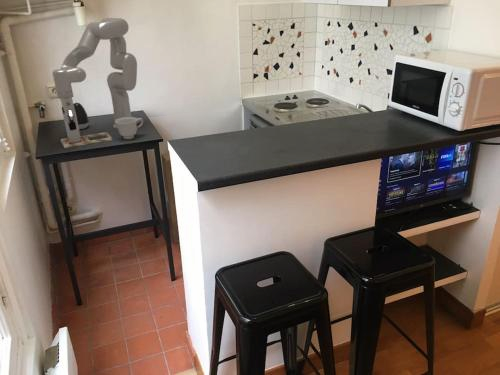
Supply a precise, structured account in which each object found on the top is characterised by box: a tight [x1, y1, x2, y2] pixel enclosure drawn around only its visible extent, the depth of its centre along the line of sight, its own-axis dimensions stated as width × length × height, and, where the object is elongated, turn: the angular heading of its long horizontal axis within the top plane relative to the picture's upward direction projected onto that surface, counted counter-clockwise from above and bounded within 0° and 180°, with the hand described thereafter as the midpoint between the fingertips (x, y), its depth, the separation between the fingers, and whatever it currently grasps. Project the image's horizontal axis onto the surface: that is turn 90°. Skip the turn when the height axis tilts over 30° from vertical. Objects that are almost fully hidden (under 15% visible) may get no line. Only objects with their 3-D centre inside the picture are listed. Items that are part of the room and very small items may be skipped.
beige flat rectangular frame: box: [60, 131, 113, 149], centre depth 227 cm, size 24×12×1 cm, turn 119°
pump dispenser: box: [73, 102, 90, 130], centre depth 246 cm, size 10×10×15 cm
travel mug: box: [61, 107, 82, 144], centre depth 220 cm, size 6×7×20 cm
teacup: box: [114, 116, 144, 140], centre depth 229 cm, size 12×15×10 cm
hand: (71, 127), depth 221 cm, fingers open, 7 cm apart
